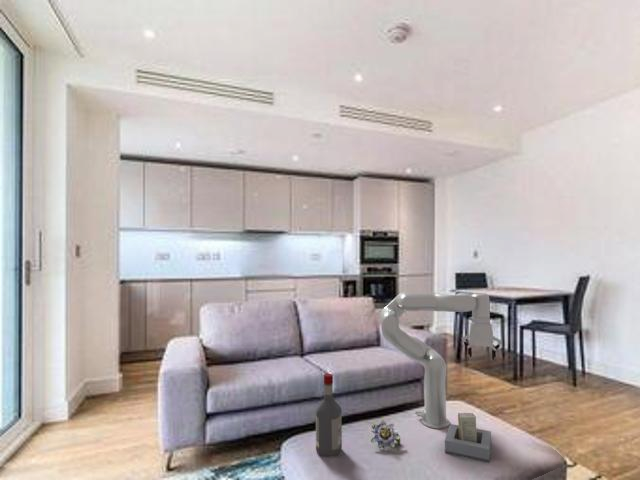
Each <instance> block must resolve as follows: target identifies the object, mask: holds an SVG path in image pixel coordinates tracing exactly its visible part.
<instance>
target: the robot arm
mask: <svg viewBox="0 0 640 480" xmlns="http://www.w3.org/2000/svg"><path fill="white" fill-rule="evenodd" d="M490 309H491V308H490V295H488V294H487V293H481V292H480V293H478V292H477V293H469V292H458V293H456V294H455V295H454V294H453V295H452V294H443V293H442V294H441V293H437V292H407V291H402V292H400V293H399V294H397V296H395V297H394V298H393V300H391V301H390V302H389V303H388V304H387V305H386V306H385V307H383V309H382V310H381V311H380V314H379V319H380V323H381V324H380V327H381V328H380V330H381V333H382V336H383V338H384V339H385V340H386V342H387V343H388V344H390V345H391V346H393V347H394V349H396V350H398V351H399V352H400V353H402V355H405V356H406V357H407V358H409V360H411V361H413V362H414V361H415V362H417V363H418V364H420V365H422V366H423V368H424V377H423V380H424V381H423V388H424V393H423V394H424V395H423V396H424V410H417V409H416V410H415V414H416V417H419V418H420V417H421V423H422V424H423V426H426V427H428V428H430V429H431V428H432V429H436V430H437V429H439V430H440V429H441V430H442V429H446V428H449V426H450V424H451V421H450V420H449V419H448V418H447V395H446V394H447V393H446V392H447V391H446V380H447V379H446V378H447V364H446V361H445V360H444V357H442V356H441V355H440V353H438V352H437V351H436V350H435V349H434V348H432V347H431V346H429V344H426V343H425V342H424V341H422V340H421V339H419V337H416V336H411V335H409V334H408V333H407V332H405V331H404V330H402V329H401V327H400V317H402V316H403V314H405V313H406V312H444V313H445V312H449V313H450V312H451V313H457V312H458V313H462V312H463V313H464V312H465V313H468V312H472V313H471V317H470V316H469V317H468V320H469V321H471V322H470V325H469V334H466V335H465V336H462V337H461V341H462V342H463V344H464V346H465V347H466V348H467V355H468V356H469V358H472V356H473V355H472V354H473V352H472V351H473V350H472V349H473V348H472V346H477V347H490V348H491V359H492V360H495V358H497V357H496V356H497V354H496V351H497V350H498V349H499V348H500V347H501V346H502V343H503V341H502V340H501V339H500V338H497V337H496V336H494V330H493V329H494V328H493V325H492V323H491V319H490V318H491V317H490V316H491V314H490V312H491V311H490ZM467 339H469V342H468V341H467ZM494 341H495V342H497V344H496V345H495V344H494Z"/></svg>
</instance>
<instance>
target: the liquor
mask: <svg viewBox="0 0 640 480" xmlns="http://www.w3.org/2000/svg"><path fill="white" fill-rule="evenodd" d="M333 385H334V374H333V373H325V374H323V387H324V389H323V391H324V392H323V393H324V394H323V396H324V397H323V400H322V401H321V402H320V404H319V405H317V407H316V410H315V451H316V452H317V454H318V455H319V456H324V457H329V458H333V457H337V456H338V455H339V453H340V451H341V450H342V443H343V439H342V437H343V435H342V434H343V433H342V432H343V431H342V428H343V427H342V421H343V420H342V419H343V418H342V407H341V405H340V404H339V403H338V402H337V401H336V400H335V399H334V394H333V393H334V391H333V390H334V389H333Z"/></svg>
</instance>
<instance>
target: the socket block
mask: <svg viewBox="0 0 640 480" xmlns="http://www.w3.org/2000/svg"><path fill="white" fill-rule="evenodd" d="M476 431H477V443H474V442H469V441H464V440H459V426H458V424H452V423H450V425H449V426H448V430H447V432H446V436H445V439H444V454H447V455H452V456H457V457H462V458H466V459H469V460H475V461H479V462H485V463H489V464H490V461H491V460H490V459H491V451H492V450H491V449H492V432H491V430H487V429H486V430H485V429H481V428H476ZM490 450H491V451H490Z"/></svg>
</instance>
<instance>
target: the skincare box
mask: <svg viewBox="0 0 640 480" xmlns="http://www.w3.org/2000/svg"><path fill="white" fill-rule="evenodd" d="M457 423H458V424H457V425H458V426H459V440H464V441H469V442H474V443H477V431H476V429H477V417H476V415H475V414H474V412H473V413H472V412H457Z"/></svg>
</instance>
